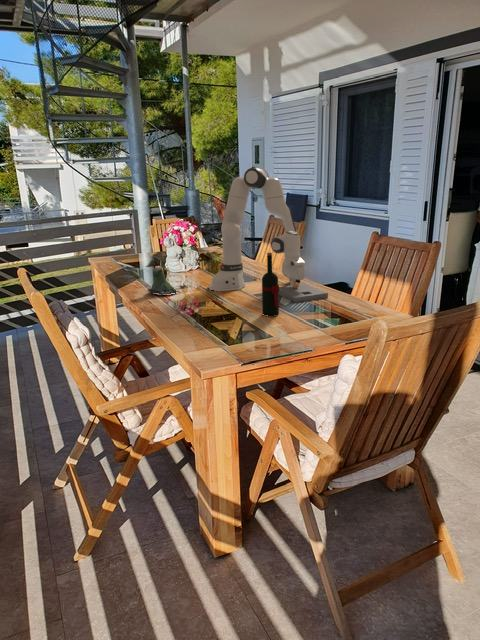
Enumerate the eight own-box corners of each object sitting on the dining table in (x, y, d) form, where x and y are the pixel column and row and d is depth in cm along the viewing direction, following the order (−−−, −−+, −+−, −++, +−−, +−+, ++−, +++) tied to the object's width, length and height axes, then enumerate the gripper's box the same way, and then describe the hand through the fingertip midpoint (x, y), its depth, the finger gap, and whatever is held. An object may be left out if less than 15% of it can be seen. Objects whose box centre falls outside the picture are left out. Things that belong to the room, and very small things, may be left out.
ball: (294, 289, 267) (294, 283, 266) (291, 288, 270) (291, 282, 269) (300, 288, 268) (300, 282, 267) (296, 287, 271) (296, 281, 270)
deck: (295, 302, 251) (295, 297, 250) (273, 292, 273) (273, 287, 272) (327, 297, 258) (328, 292, 257) (304, 287, 280) (304, 283, 279)
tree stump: (189, 292, 282) (181, 264, 273) (161, 307, 271) (152, 279, 263) (172, 286, 295) (164, 259, 286) (144, 300, 285) (136, 272, 276)
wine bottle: (271, 318, 226) (269, 255, 217) (259, 313, 234) (257, 252, 225) (284, 315, 230) (284, 253, 220) (272, 310, 238) (271, 250, 229)
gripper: (278, 258, 276) (279, 281, 281) (296, 264, 258) (296, 289, 263) (288, 257, 279) (288, 280, 283) (306, 262, 261) (306, 287, 265)
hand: (292, 284), depth 273 cm, fingers closed
